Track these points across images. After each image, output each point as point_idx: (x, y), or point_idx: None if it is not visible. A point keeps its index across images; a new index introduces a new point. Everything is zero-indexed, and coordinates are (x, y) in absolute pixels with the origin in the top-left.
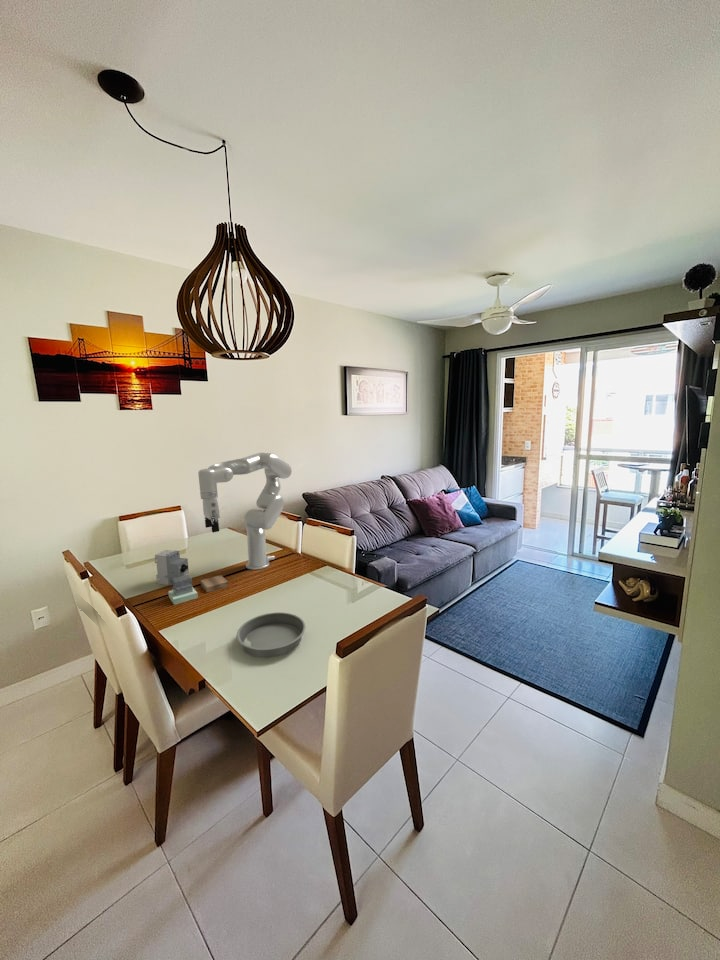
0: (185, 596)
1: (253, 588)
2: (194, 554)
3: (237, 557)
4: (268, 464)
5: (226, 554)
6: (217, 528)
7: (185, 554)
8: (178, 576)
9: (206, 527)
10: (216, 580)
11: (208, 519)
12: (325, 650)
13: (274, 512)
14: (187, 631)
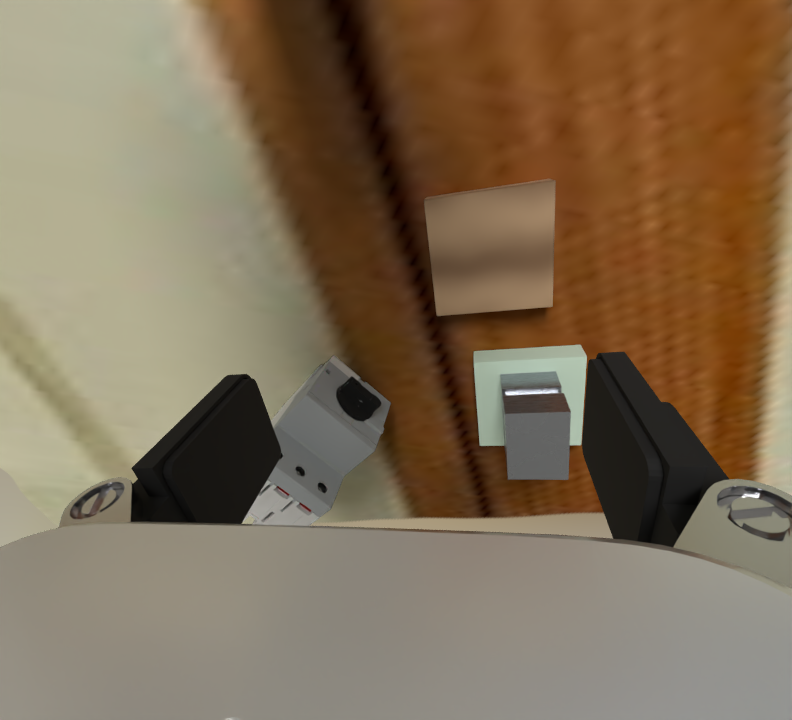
0: (583, 403)
1: (704, 13)
2: (23, 261)
3: (95, 7)
4: None
5: (33, 79)
6: (681, 422)
7: (21, 299)
8: (388, 409)
9: (275, 449)
10: (490, 241)
11: (188, 521)
12: None
13: None
14: None
